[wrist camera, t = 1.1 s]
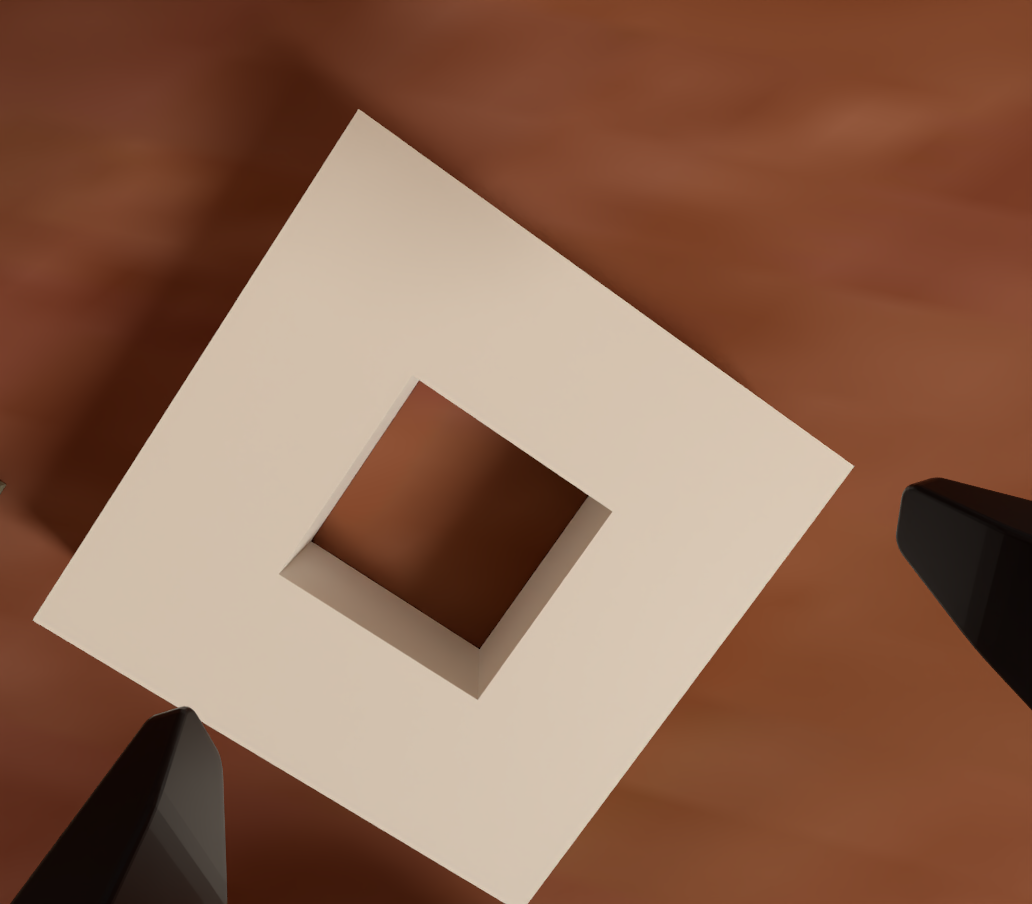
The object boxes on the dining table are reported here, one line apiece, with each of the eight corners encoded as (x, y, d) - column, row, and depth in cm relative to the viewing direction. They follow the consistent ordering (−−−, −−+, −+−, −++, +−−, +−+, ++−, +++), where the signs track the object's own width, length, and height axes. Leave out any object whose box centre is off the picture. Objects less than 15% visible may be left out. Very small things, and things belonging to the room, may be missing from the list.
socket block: (516, 833, 24) (520, 912, 21) (102, 580, 23) (32, 620, 19) (799, 450, 23) (854, 466, 20) (379, 149, 21) (358, 108, 18)
